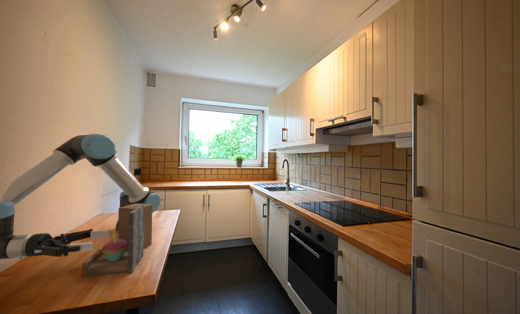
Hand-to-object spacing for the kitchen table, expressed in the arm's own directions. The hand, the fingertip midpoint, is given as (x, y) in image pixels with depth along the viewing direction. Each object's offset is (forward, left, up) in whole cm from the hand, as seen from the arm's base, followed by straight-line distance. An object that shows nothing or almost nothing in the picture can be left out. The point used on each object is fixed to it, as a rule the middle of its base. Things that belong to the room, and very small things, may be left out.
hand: (101, 239), depth 78 cm
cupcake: (0, +5, -8) cm, 9 cm away
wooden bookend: (0, +5, -11) cm, 12 cm away
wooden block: (-17, +7, -11) cm, 22 cm away
